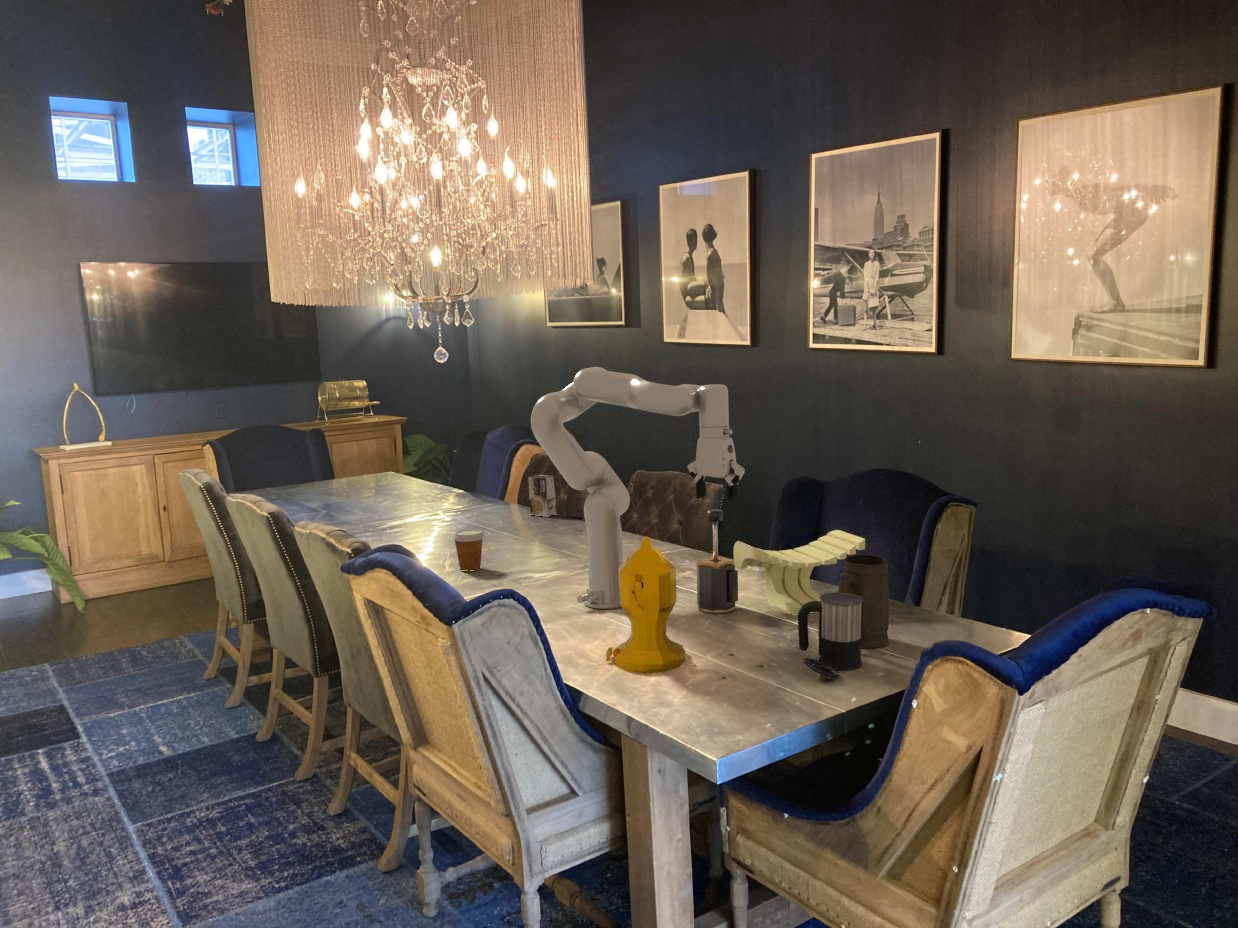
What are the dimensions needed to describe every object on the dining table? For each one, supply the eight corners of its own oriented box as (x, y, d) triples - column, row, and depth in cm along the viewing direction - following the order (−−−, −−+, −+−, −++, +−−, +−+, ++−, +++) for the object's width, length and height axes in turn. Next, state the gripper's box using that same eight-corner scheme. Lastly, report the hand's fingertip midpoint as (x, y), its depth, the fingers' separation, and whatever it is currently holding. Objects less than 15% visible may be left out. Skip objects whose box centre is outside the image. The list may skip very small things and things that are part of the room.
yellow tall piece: (598, 678, 204) (594, 549, 200) (616, 641, 228) (612, 525, 224) (681, 680, 202) (678, 550, 198) (689, 642, 226) (687, 526, 222)
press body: (724, 617, 244) (724, 567, 242) (690, 609, 252) (689, 561, 250) (746, 608, 251) (745, 560, 250) (712, 601, 259) (711, 554, 257)
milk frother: (856, 655, 214) (856, 590, 212) (876, 681, 198) (877, 611, 196) (792, 657, 213) (792, 593, 211) (808, 683, 198) (808, 614, 196)
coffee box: (557, 514, 387) (555, 475, 384) (547, 517, 381) (546, 477, 379) (539, 513, 391) (537, 474, 389) (529, 515, 386) (527, 476, 384)
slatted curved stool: (831, 590, 266) (831, 527, 264) (864, 605, 251) (865, 538, 249) (734, 603, 256) (733, 538, 254) (762, 619, 241) (762, 550, 239)
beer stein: (855, 630, 231) (852, 550, 227) (897, 638, 224) (896, 555, 220) (825, 651, 220) (822, 568, 216) (869, 660, 213) (867, 574, 209)
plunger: (718, 572, 246) (717, 514, 244) (698, 569, 250) (697, 511, 248) (732, 567, 251) (732, 510, 248) (713, 564, 255) (712, 507, 253)
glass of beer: (448, 571, 299) (446, 533, 298) (467, 564, 308) (465, 528, 306) (473, 574, 295) (471, 536, 293) (491, 567, 303) (489, 530, 302)
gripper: (751, 432, 242) (752, 499, 245) (696, 430, 254) (698, 494, 256) (733, 435, 237) (735, 504, 239) (678, 433, 248) (680, 498, 251)
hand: (716, 498), depth 248 cm, fingers open, 9 cm apart
